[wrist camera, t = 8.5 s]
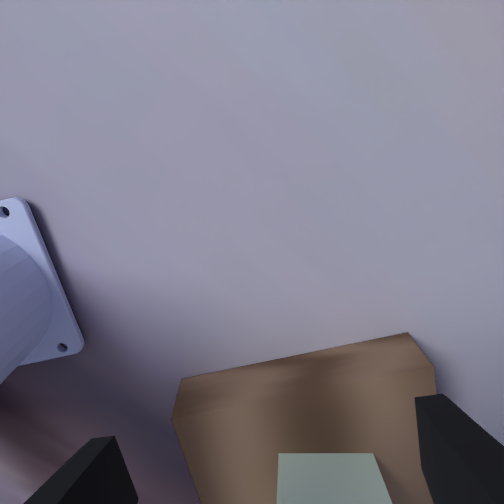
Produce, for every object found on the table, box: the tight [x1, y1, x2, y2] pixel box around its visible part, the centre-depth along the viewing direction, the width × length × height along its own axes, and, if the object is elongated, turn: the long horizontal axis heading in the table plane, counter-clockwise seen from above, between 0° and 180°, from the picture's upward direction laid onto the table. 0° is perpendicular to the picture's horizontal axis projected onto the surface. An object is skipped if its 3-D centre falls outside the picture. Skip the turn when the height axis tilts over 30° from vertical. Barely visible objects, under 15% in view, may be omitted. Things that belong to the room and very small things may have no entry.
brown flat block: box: [171, 332, 437, 504], centre depth 21 cm, size 12×12×3 cm
